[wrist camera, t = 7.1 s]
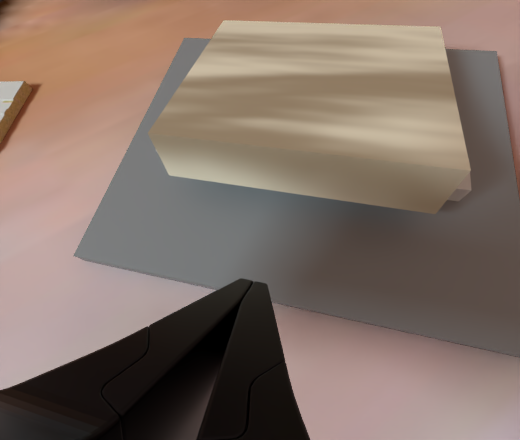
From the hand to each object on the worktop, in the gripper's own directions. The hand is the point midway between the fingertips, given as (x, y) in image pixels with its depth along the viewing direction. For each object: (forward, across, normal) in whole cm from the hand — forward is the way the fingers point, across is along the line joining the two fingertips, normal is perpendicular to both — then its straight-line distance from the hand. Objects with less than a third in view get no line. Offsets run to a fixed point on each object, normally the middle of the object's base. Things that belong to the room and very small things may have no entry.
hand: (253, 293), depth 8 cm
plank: (+6, 0, -3) cm, 7 cm away
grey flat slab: (+12, 0, -3) cm, 13 cm away
